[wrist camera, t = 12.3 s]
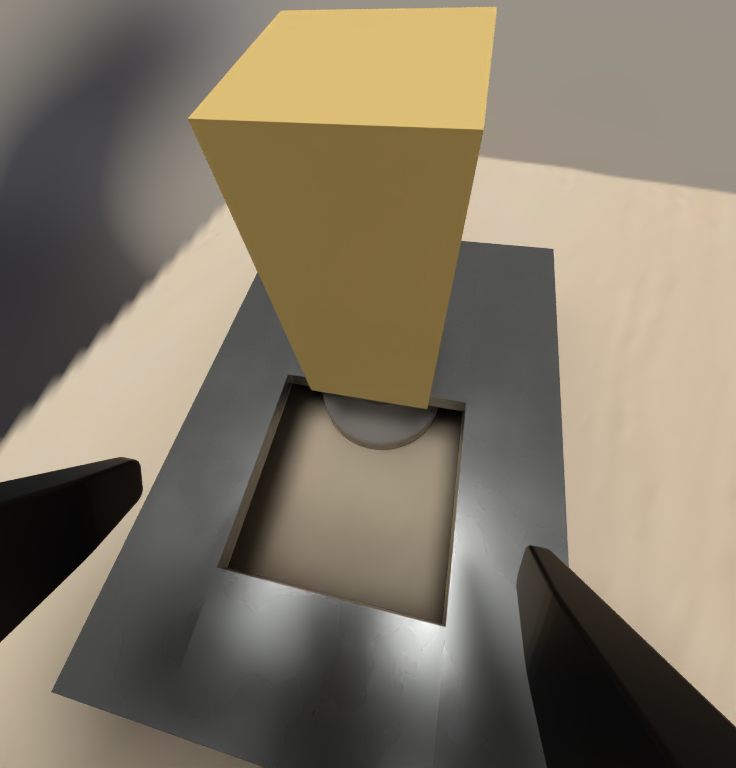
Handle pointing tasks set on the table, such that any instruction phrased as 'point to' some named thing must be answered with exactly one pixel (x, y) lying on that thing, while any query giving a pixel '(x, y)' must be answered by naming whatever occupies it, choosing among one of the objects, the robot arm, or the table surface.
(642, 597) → the table surface
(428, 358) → the mustard peg
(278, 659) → the keyhole plate
